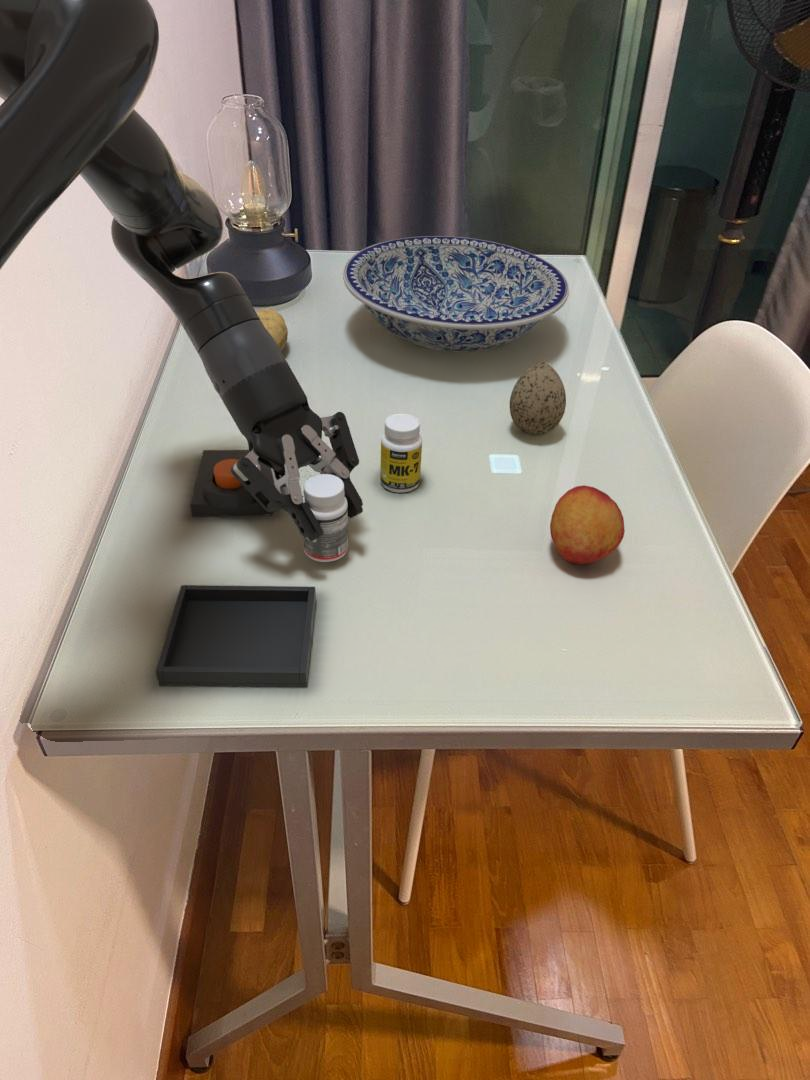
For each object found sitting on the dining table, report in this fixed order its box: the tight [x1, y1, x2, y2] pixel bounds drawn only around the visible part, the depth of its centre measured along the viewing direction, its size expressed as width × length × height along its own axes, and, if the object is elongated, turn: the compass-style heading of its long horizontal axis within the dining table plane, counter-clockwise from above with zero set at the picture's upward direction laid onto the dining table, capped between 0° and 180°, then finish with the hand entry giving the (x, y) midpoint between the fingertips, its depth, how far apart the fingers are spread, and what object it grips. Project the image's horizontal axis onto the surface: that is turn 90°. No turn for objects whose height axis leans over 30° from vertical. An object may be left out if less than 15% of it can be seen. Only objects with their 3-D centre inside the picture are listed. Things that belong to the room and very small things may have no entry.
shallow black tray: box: [155, 584, 317, 688], centre depth 77 cm, size 13×11×2 cm
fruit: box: [549, 484, 626, 565], centre depth 86 cm, size 8×8×8 cm
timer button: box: [214, 459, 243, 489], centre depth 91 cm, size 4×4×2 cm
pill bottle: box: [302, 473, 349, 563], centre depth 84 cm, size 5×5×8 cm
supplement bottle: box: [379, 412, 423, 494], centre depth 95 cm, size 5×5×8 cm
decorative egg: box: [509, 361, 567, 437], centre depth 104 cm, size 7×7×10 cm
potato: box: [256, 308, 289, 352], centre depth 120 cm, size 7×11×6 cm, turn 172°
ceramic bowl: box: [342, 235, 570, 353], centre depth 126 cm, size 34×34×10 cm
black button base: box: [189, 449, 277, 517], centre depth 95 cm, size 12×9×4 cm
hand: (337, 525), depth 83 cm, fingers closed on pill bottle, 4 cm apart
